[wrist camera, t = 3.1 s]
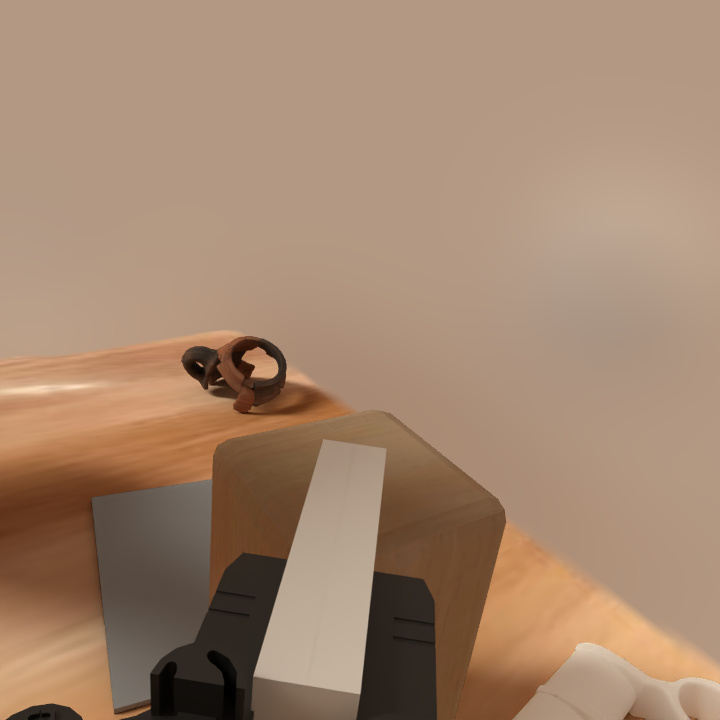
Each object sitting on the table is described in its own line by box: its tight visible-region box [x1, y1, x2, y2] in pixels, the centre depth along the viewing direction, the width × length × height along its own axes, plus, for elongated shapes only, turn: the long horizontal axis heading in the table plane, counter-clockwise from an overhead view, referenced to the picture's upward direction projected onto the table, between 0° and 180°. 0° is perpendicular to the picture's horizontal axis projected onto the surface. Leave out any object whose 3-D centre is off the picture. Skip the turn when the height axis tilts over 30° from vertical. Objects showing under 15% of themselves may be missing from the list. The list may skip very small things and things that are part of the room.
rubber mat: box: [91, 479, 212, 714], centre depth 50 cm, size 21×24×1 cm
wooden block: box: [209, 410, 506, 720], centre depth 31 cm, size 10×10×20 cm
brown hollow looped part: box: [181, 336, 287, 413], centre depth 73 cm, size 12×9×8 cm
